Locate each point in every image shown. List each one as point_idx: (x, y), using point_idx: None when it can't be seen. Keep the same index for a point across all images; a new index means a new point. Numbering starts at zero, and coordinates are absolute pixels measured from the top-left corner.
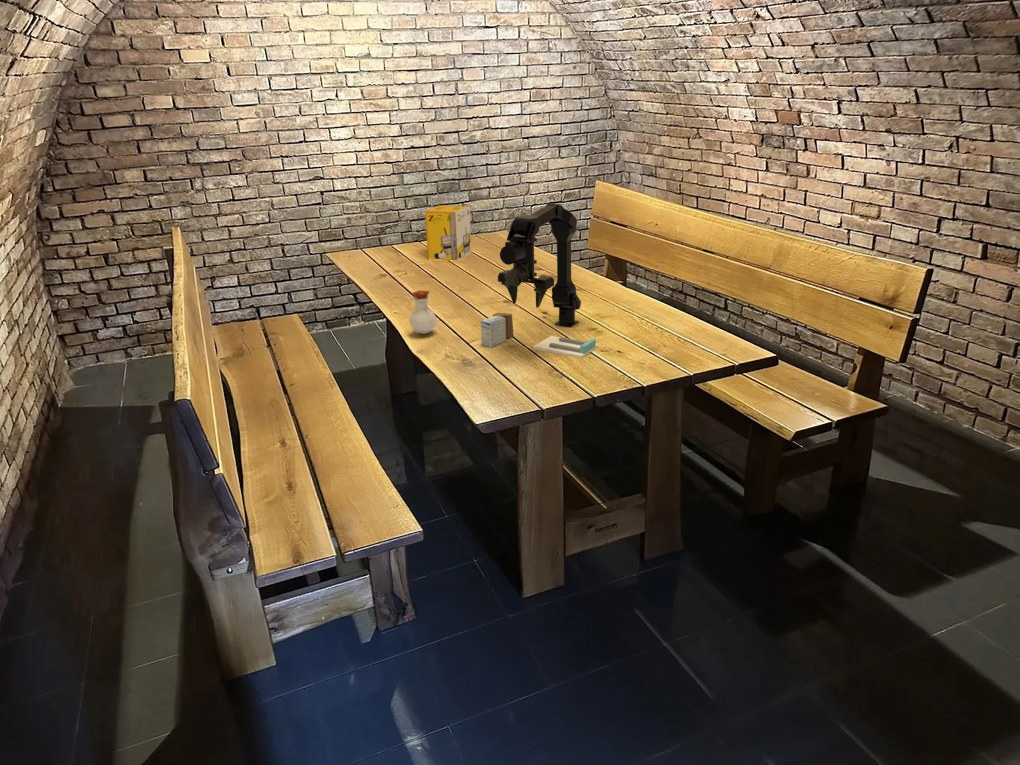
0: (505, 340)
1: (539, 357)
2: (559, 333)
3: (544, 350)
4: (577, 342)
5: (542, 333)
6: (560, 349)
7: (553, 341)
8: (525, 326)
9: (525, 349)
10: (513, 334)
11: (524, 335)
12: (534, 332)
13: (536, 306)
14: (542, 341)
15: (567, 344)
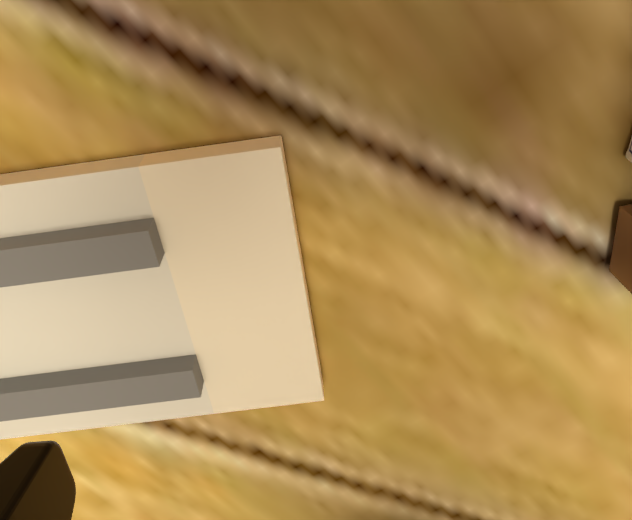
0: (628, 154)
1: (89, 7)
2: (347, 475)
3: (161, 157)
4: (25, 387)
5: (446, 424)
6: (34, 227)
7: (224, 329)
8: (627, 454)
9: (345, 100)
10: (617, 278)
11: (543, 336)
12: (508, 411)
13: (22, 462)
14: (297, 283)
15: (91, 340)
